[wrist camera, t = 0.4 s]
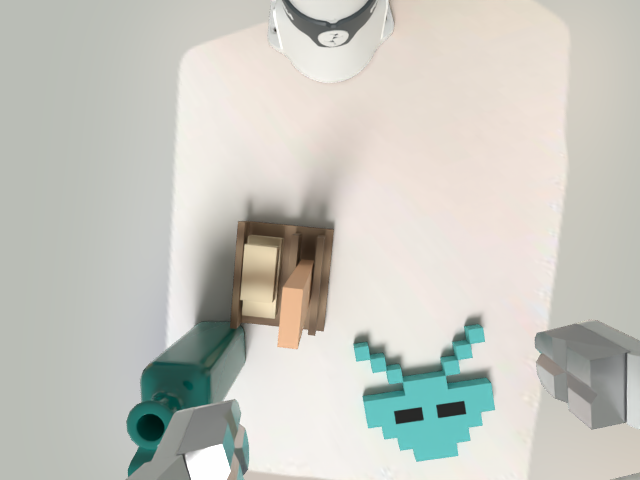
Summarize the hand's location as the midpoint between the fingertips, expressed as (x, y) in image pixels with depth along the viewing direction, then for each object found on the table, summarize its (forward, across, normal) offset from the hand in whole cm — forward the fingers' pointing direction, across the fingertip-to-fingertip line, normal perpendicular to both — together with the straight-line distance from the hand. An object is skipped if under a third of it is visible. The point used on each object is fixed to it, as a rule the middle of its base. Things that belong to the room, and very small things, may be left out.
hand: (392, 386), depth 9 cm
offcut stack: (+44, +8, +9) cm, 46 cm away
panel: (+44, +2, +11) cm, 45 cm away
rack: (+45, +5, +10) cm, 47 cm away
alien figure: (+41, -13, +33) cm, 54 cm away
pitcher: (+46, +18, +20) cm, 53 cm away
